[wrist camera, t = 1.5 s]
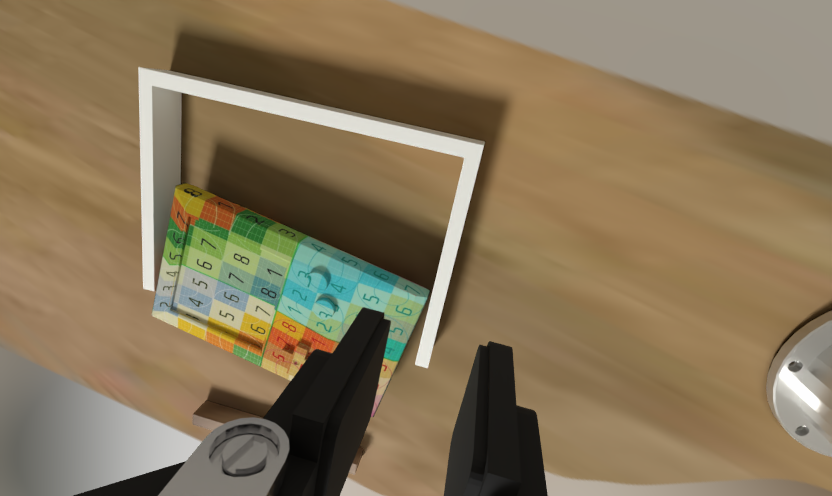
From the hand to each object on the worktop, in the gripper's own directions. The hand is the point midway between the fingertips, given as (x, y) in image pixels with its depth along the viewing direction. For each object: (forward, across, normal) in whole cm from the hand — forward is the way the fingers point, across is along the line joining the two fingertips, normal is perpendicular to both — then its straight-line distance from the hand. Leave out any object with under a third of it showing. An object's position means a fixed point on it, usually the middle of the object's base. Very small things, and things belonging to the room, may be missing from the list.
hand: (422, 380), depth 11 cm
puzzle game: (+23, +12, +11) cm, 28 cm away
